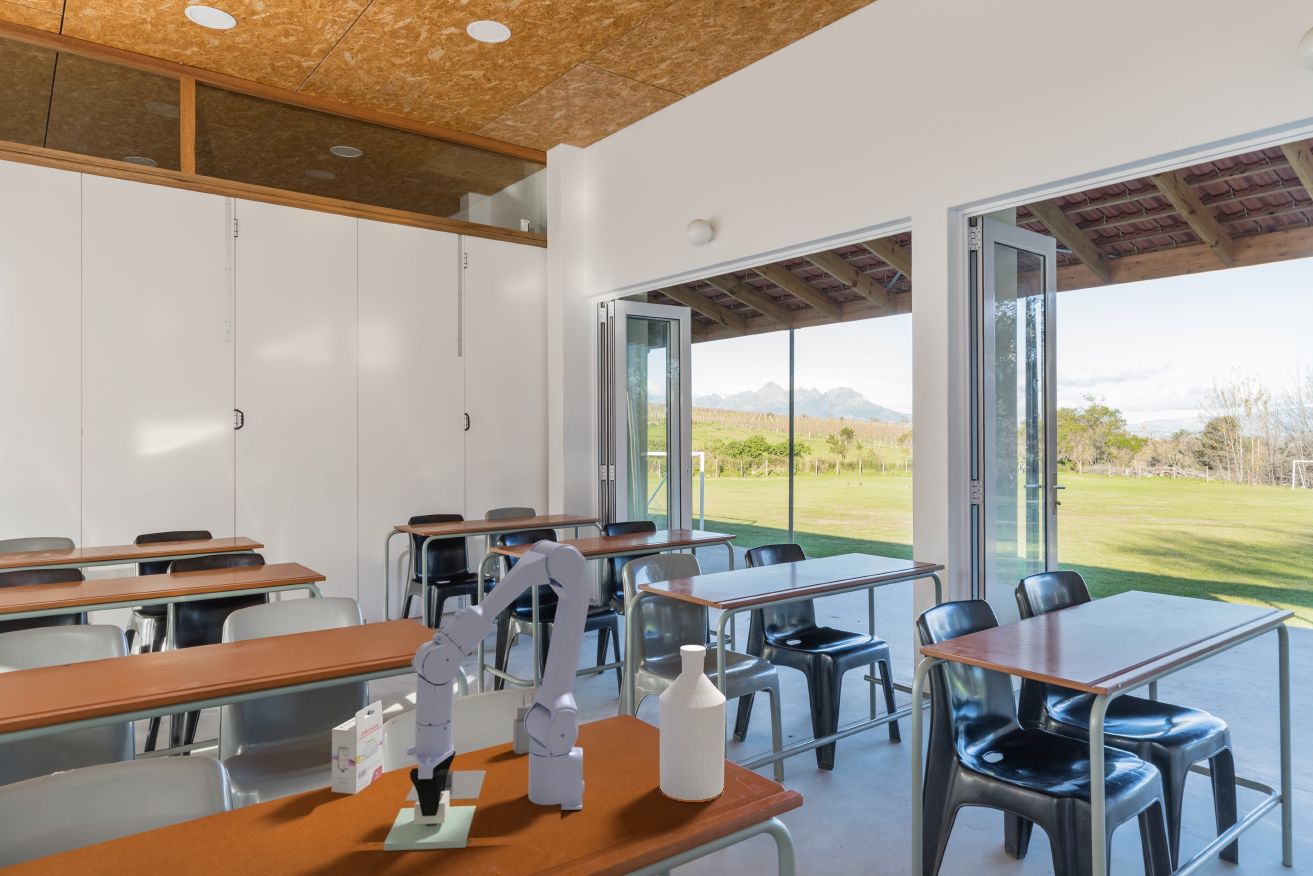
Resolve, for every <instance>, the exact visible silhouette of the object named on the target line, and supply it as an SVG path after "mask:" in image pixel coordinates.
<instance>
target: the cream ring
mask: <svg viewBox="0 0 1313 876" xmlns="http://www.w3.org/2000/svg"><path fill="white" fill-rule="evenodd" d="M450 800H451V799H450V791H441V795H440V802H439V807H438V811H437V814H436V816H422V812H421V808H420V803H419V798H417V800H415V802H414V807H413V808H414V824H431V823H445V821H446V818H447V815H448V812H449V807H450Z"/></svg>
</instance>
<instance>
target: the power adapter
mask: <svg viewBox="0 0 1313 876" xmlns="http://www.w3.org/2000/svg"><path fill="white" fill-rule="evenodd" d="M534 695H535V693H534V692H532V694H531V703H525V702H526V699H525V698H526V697H525V693H524V694H522V697H523V698H522V704H520V705H519V706H517V713H516V714H517V716H516V717H513V723H512V725H513V727H512V729H513V732H512V751H513V752H514V753H515V754H516V755H524V754H529V745H530V736H528V735H527V733H526V732H525V729H524V718H525V715H526V713H527V711H528V710H529V708H530V707H531V705H532V702H533V697H534Z"/></svg>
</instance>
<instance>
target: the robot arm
mask: <svg viewBox="0 0 1313 876" xmlns="http://www.w3.org/2000/svg"><path fill="white" fill-rule="evenodd" d="M586 566H587V559H586V557H584V555H583V554H582V553H581V551H580V550H579V549H578V548H577V547H576V546H574V545H572V544H569V543H568V544H567V543H559V542H554V541H552V540H549V539H542V540H539V541H536V542H535V543H534V544H533V545H532V546H531V547H530V548H529V550H527V551H525V552H523V553H522V554H521V556H520V557H519V558H518V561H517V562H516V563H515V564H514V565H513V567H512V568H510V570H509V571H508V572H507V573H506V574H505V575H504V576H503V578H502V579H500V580H499V582H498V583H497V584H495V586H494V587H493V589H491V590H490V591H489V593H488V594H486V596H485V597H484V598H483V599H482V600H481V601H480V603H479V604H476V605H467V606H465V607H464V608H463V609H461V608H458V609H457V610H456V611H455V612H454V614H453V615H454V616H455V617H454V618H453V619H452V620H451V621H450V622H449V623H448V624H447V625H446V626H445V627H444V628H443V629H442V630H441V631H440V632H439V633H438V632H435V633H434V634H433V635H432V637H431V638H432V640H429V641H428V642H427V641H426V642H424V643H423V644H421V645H420V646H419V647H418V648H417V650H416V651H415V656H413V658H412V659H411V661H410V662H411V666H412V669H413V670H414V672H416V674H417V675H416V692H415V728H414V729H415V731H414V732H415V734H414V736H415V738H414V746H409V747H408V748H407V750H406V755H407V756H413V757H414V759H415V761H416V764H417V765H418V767H414V768H413V767H412V768H411V769H410V772H409V778H410V780H411V782H412V785H413V784H414V786H415V788H416V791H417V794H418V798H419V803H420V808H421V812H422V816H436V814H437V811H438V807H439V802H440V795H441V791H445V786H446V781H447V776H448V772H449V771H450V768H451V765H452V763H453V760H454V759H455V757H456V754H457V753H456V750H455V745H454V741H453V740H454V738H453V735H454V731H453V730H454V692H455V691H454V679H455V678H456V677H457V676H458V674H459V672H460V669H461V663H462V661H463V660H465V658H466V657H468V656H469V654H470V653H472V651H473V650H474V649H475V648H476V647H477V646H478V645H479V644H480V643H481V642H482V641H483V640H484V639H485V638H486V637H487V636H488V635H489V634H490V633H491V632H492V629H493V621H494V619H495V618H496V617H497V616H499V614H500V613H502V612H503V611H504V610H505V609H506V608H507V607H508V606H510V604H512V603H513V601H515V600H516V599H517V598H518V597H519V596H520V595H522V593H524V592H525V591H526V590H527V589H528V588H530V587H534V586H542V585H549V586H550V587H551V589H552V590H553V592H554V593H555V594H556V595H557V597H558V601H557V605H556V610H555V614H554V621H553V626H552V631H551V638H550V641H549V647H548V652H547V657H546V663H545V668H544V673H543V679H542V683H541V688H539V689H538V691H536V693H534V697H533V702H532V701H531V704H532V705H531V707H530V708H529V710H528V711H527V713H526V715H525V718H524V729H525V732H526V733H527V735H528V736H530V745H529V753H528V800H529V801H530V802H532V803H533V804H536V805H542V806H553V805H559V804H560V810H561V811H570V810H571V811H572V810H577V811H579V810H582V809H583V794H584V793H585V780H583V778H584V777H583V775H584V774H583V771H584V770H583V769H584V766H583V765H584V760H583V759H584V757H583V756H584V754H583V753H584V752H583V751H584V749H583V747H577V746H575V745H576V742H577V741H578V737H579V732H580V731H579V725H578V722H577V716H578V710H579V709H578V706H577V704H576V700H575V699H574V695H573V692H574V686H575V680H576V675H577V670H578V665H579V660H580V659H579V658H580V656H581V655H580V653H581V650H582V643H583V637H584V633H585V627H586V622H587V616H588V611H589V606H590V602H591V601H590V600H591V595H592V588H591V584H590V580H589V576H588V573H587V569H586Z"/></svg>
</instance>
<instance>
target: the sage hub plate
mask: <svg viewBox="0 0 1313 876" xmlns="http://www.w3.org/2000/svg"><path fill="white" fill-rule="evenodd" d="M476 807H477V805H461V806H455V805H454V806H449V812H448V815H447V818H446V821H445V823H431V824H414V807H405V808H404V807H401V808H400V810H399V813H398V814H397V817H396V818H395V821H394V822H393V825H392V826H391V828H390V830H389V833H388V835H387V836H386V838H385V840H384V843H383V851H384V852H385V851H405V850H406V851H410V850H431V849H432V850H435V849H455V848H456V849H457V848H459V849H460V848H467V845H468V841H469V837H468V836H469V832H470V828H471V824H472V823H473V818H474V814H475V811H476Z"/></svg>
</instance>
